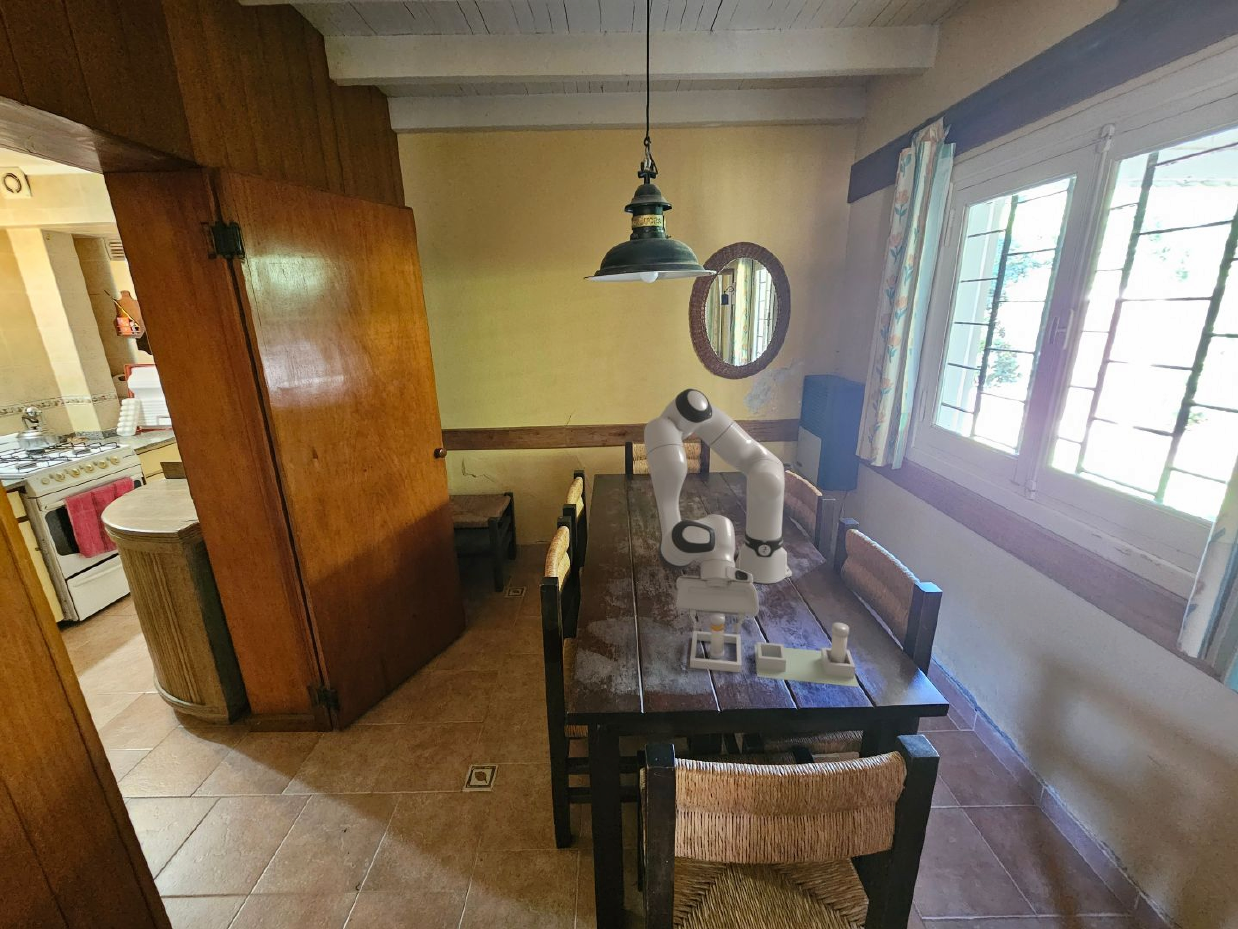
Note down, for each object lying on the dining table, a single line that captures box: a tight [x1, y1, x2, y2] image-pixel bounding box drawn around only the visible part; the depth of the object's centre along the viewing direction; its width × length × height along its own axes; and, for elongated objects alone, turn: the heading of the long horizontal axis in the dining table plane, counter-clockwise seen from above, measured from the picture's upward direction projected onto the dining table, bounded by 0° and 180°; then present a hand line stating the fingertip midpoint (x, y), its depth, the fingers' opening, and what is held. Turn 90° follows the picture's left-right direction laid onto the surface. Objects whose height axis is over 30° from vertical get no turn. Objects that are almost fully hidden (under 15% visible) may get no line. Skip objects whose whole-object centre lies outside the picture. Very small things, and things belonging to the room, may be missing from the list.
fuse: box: [829, 622, 850, 664], centre depth 117 cm, size 4×4×11 cm
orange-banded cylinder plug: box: [709, 612, 726, 660], centre depth 124 cm, size 4×4×11 cm
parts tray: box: [689, 630, 743, 673], centre depth 125 cm, size 12×12×3 cm
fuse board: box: [753, 641, 860, 688], centre depth 120 cm, size 12×22×4 cm, turn 78°
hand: (716, 631), depth 123 cm, fingers open, 8 cm apart
